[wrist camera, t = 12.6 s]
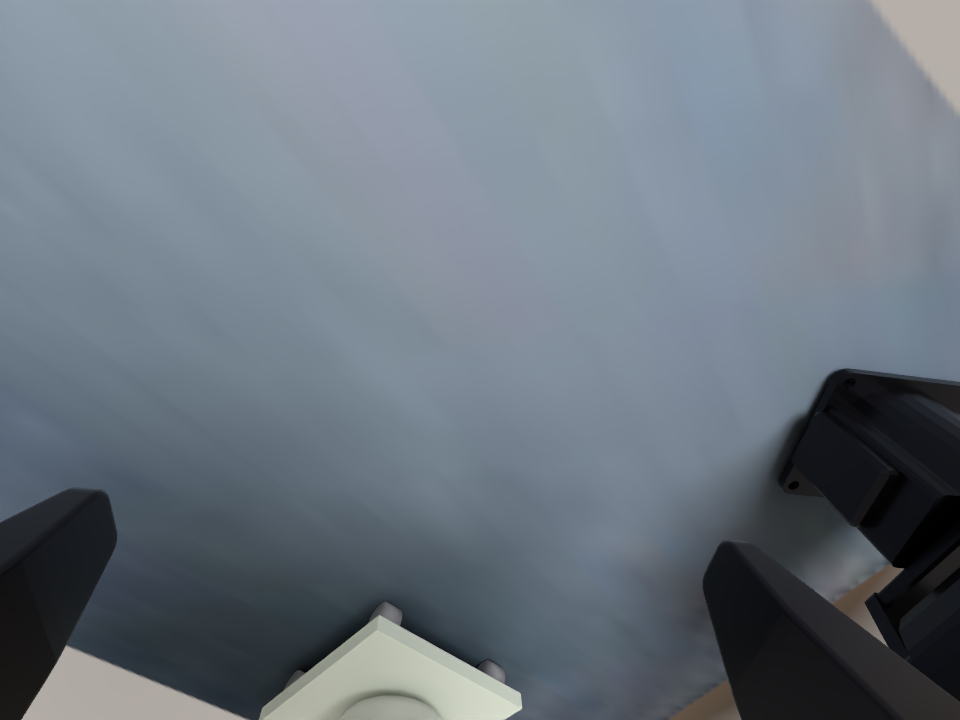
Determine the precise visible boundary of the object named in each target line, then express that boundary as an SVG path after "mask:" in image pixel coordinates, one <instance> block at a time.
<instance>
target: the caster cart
mask: <svg viewBox="0 0 960 720" xmlns="http://www.w3.org/2000/svg"><path fill="white" fill-rule="evenodd" d="M401 621H402V611H401V610H400V609H398V608H396V607H395V606H393V605H391V604H389V603H388V602H382V603H380V604H379V605H378V606H377V607H376V609H375V610H374V612H373V613H372V615H371V617H370V620H369V623H368V624H367V625H366V626H365V627H363V628H362V629H361V630H360V631H358V632H357V633H356V634H354V635H353V636H352V637H351V638H349V639H348V640H347V641H346V642H344V643H343V644H342V645H341V646H339V647H338V648H337V649H336V650H334V651H333V652H332V653H331V654H329V655H328V656H327V657H325V658H324V659H323V660H322V661H320V662H319V663H318V664H317V665H315V666H314V667H313V668H312V669H310V670H309V671H308V672H307V673H305V672H303V671H300V670H297V671H296V672H295V673H294V674H293V675H292V676H291V677H290V679H289V680H288V682H287V684H286V686H285V688H284V691H283V692H281V693H280V694H279V695H278V696H276V697H275V698H274V699H273V700H271V701H270V702H269V703H268V704H266V705H265V706H264V707H263V708H262V711H261V714H260V717H259V720H338V719H339V718H340V717H341V716H342V714H343V713H344V712H345V711H346V710H347V709H348V708H349V707H350V706H352V705H353V704H355V703H357V702H359V701H361V700H364V699H367V698H371V697H376V696H385V695H387V696H402V697H408V698H412V699H416V700H418V701H420V702H423V703H425V704H426V705H428V706H430V707H431V708H432V709H433V710H434V711H436V712H437V714H438V715H439V717H440V719H441V720H505V719H506V718H508V717H510V716H511V715H513V714H514V713H516V712H518V711H519V710H521V709H522V702H521V693H519V692H517V691H515V690H514V689H512V688H510V687H508V686H506V685H505V672H504V670H503V668H502V667H500V666H498V665H496V664H495V663H493V662H491V661H489V660H485V661H483V662H482V663H481V664H480V665H479V666H478V668H477V669H476V668H474V667H472V666H470V665H469V664H467V663H465V662H463V661H461V660H460V659H458V658H456V657H454V656H452V655H451V654H449V653H447V652H445V651H443V650H442V649H440V648H438V647H436V646H434V645H433V644H431V643H429V642H427V641H425V640H424V639H422V638H420V637H418V636H416V635H415V634H413V633H411V632H409V631H407V630H406V629H404V628H402V627H400V625H401Z"/></svg>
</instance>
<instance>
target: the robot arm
mask: <svg viewBox="0 0 960 720" xmlns="http://www.w3.org/2000/svg"><path fill="white" fill-rule="evenodd" d="M847 379H848V380H847ZM845 380H847V382H845V383H844V381H845ZM791 482H792V483H791ZM778 483H779V486H780V487H781V488H782V489H783V490H784V491H785V492H786V493H789V494H798V495H808V496H819V497H825V498H826V500H827V501H828V502H829V503H830V504H831V505H832V506H833V507H834V508H835V509H836V510H837V511H838V512H839V514H840V515H841V516H842V517H843V518H844V519H845V520H846V521H847V522H848V523H849V524H850V525H851V526H853V527H857V529H858V530H859V531H860V532H861V533H862V534H863V535H864V536H865V537H866V538H867V539H868V540H869V541H870V542H871V544H872V545H873V546H874V547H875V548H876V549H877V550H878V551H879V552H880V553H881V554H882V555H883V556H884V557H885V558H886V560H887V561H888V562H889V563H890V564H891V565H892V566H893V567H896V568H904V570H903V571H902V572H901V573H900V574H899V575H897V576H896V577H895V578H894V579H893V580H892V581H891V582H890V583H889V584H888V585H887V586H885V587H884V588H883V589H882V590H881V591H880V592H879V593H874V594H872V595H871V596H870V597H869V598H868V599H867V600H866V601H865V604H866V606H867V608H868V610H869V612H870V614H871V616H872V617H873V619H874V621H875V623H876V625H877V627H878V629H879V631H880V632H881V634H882V636H883V638H884V640H885V642H886V643H887V645H888V647H889V648H888V647H887V646H886V645H885V644H883V643H882V642H881V641H879V640H878V639H877V638H875V637H874V636H873V635H871V634H870V633H869V632H867V631H866V630H865V629H864V628H862V627H861V626H860V625H858V624H857V623H856V622H854V621H853V620H852V619H850V618H849V617H848V616H847V615H845V614H844V613H843V612H841V611H840V610H838V609H837V608H836V607H835V606H833V605H832V604H831V603H830V602H828V601H827V600H826V599H824V598H823V597H822V596H820V595H819V594H818V593H816V592H815V591H814V590H813V589H811V588H810V587H809V586H807V585H806V584H805V583H803V582H802V581H801V580H799V579H798V578H797V577H796V576H794V575H793V574H792V573H790V572H789V571H788V570H786V569H785V568H784V567H782V566H781V565H780V564H778V563H777V562H776V561H775V560H773V559H772V558H771V557H769V556H768V555H767V554H765V553H764V552H763V551H761V550H760V549H759V548H758V547H756V546H755V545H753V544H752V543H750V542H746V541H736V540H724V541H722V542H721V543H720V544H719V545H718V547H717V549H716V551H715V553H714V555H713V557H712V559H711V561H710V563H709V565H708V567H707V569H706V571H705V574H704V577H703V592H704V596H705V600H706V603H707V607H708V610H709V614H710V618H711V621H712V625H713V628H714V632H715V636H716V639H717V643H718V646H719V650H720V653H721V657H722V661H723V664H724V668H725V671H726V675H727V678H728V682H729V685H730V688H731V691H732V694H733V697H734V700H735V703H736V706H737V708H738V711H739V714H740V717H741V719H742V720H960V382H954V381H946V380H938V379H930V378H921V377H913V376H905V375H897V374H889V373H881V372H873V371H865V370H856V369H842V370H839V371H838V372H836V373H835V374H834V375H833V377H832V378H831V380H830V382H829V384H828V386H827V388H826V390H825V392H824V394H823V396H822V397H821V399H820V401H819V403H818V405H817V407H816V409H815V411H814V413H813V415H812V417H811V419H810V421H809V422H808V424H807V426H806V428H805V430H804V432H803V434H802V436H801V438H800V440H799V442H798V444H797V445H796V447H795V449H794V451H793V453H792V455H791V457H790V459H789V461H788V463H787V465H786V467H785V468H784V470H783V472H782V474H781V476H780V478H779V481H778ZM116 542H117V530H116V525H115V521H114V516H113V512H112V507H111V503H110V499H109V496H108V494H107V493H106V492H105V491H103V490H100V489H88V488H70V489H67V490H65V491H63V492H61V493H59V494H57V495H55V496H52V497H50V498H48V499H46V500H44V501H42V502H40V503H38V504H36V505H34V506H32V507H30V508H28V509H26V510H24V511H22V512H20V513H18V514H16V515H14V516H12V517H10V518H8V519H6V520H4V521H2V522H0V720H21V719H22V718H23V716H24V714H25V713H26V711H27V710H28V708H29V706H30V705H31V703H32V702H33V700H34V699H35V697H36V695H37V694H38V692H39V691H40V689H41V688H42V686H43V684H44V683H45V681H46V679H47V678H48V676H49V675H50V673H51V671H52V669H53V668H54V666H55V664H56V663H57V661H58V659H59V657H60V656H61V654H62V652H63V650H64V648H65V646H66V644H67V643H68V641H69V639H70V637H71V635H72V633H73V631H74V629H75V627H76V625H77V623H78V621H79V619H80V617H81V615H82V613H83V611H84V609H85V607H86V605H87V603H88V601H89V599H90V597H91V595H92V593H93V591H94V589H95V587H96V585H97V583H98V581H99V579H100V577H101V575H102V573H103V571H104V569H105V567H106V565H107V563H108V561H109V559H110V557H111V555H112V553H113V551H114V549H115V546H116Z"/></svg>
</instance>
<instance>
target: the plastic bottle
mask: <svg viewBox="0 0 960 720" xmlns="http://www.w3.org/2000/svg"><path fill="white" fill-rule="evenodd" d="M338 720H441V719H440V717H439V715H438V714H437V712H436V711H434V710H433V709H432V708H431V707H430V706H428V705H426V704H425V703H423V702H420V701H418V700H416V699H412V698H408V697H402V696H387V695H385V696H376V697H371V698H367V699H364V700H361V701H359V702H357V703H355V704H353V705H352V706H350V707H349V708H348V709H347V710H346V711H345V712H344V713H343V714H342V716H341V717H340V718H339V719H338Z"/></svg>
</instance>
